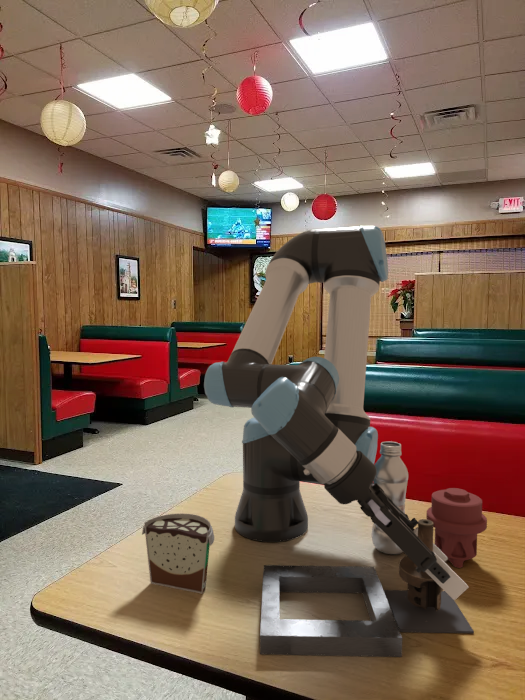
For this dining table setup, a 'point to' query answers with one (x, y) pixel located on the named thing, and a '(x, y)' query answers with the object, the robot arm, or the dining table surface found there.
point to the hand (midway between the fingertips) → (450, 576)
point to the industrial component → (421, 574)
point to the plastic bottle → (390, 490)
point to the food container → (178, 550)
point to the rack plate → (327, 634)
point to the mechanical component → (457, 523)
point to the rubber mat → (427, 615)
